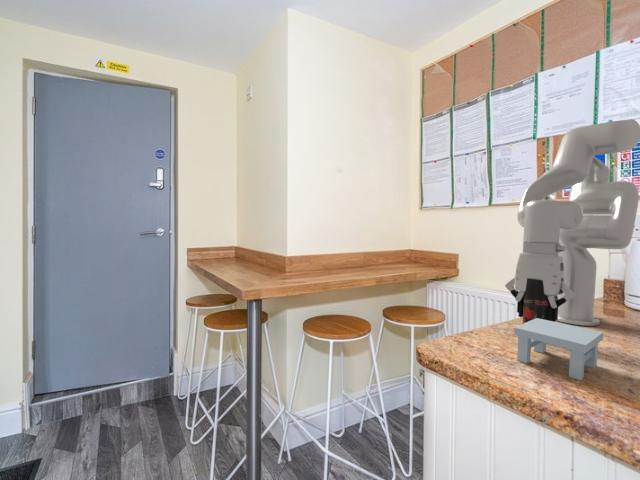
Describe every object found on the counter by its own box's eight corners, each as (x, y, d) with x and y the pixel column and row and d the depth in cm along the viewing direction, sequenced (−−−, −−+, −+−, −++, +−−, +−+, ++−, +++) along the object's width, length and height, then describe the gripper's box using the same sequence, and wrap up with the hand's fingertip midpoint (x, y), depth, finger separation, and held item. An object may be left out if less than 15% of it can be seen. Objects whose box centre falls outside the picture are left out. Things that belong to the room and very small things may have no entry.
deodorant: (553, 341, 81) (557, 281, 80) (527, 339, 82) (530, 279, 81) (542, 333, 87) (546, 277, 86) (518, 331, 88) (521, 275, 87)
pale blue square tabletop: (534, 347, 77) (536, 318, 76) (601, 365, 67) (603, 332, 67) (512, 360, 69) (514, 327, 69) (583, 382, 60) (586, 345, 60)
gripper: (587, 251, 79) (582, 325, 80) (510, 246, 92) (507, 309, 93) (577, 252, 74) (572, 331, 75) (498, 247, 88) (494, 313, 89)
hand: (536, 318), depth 84 cm, fingers closed on deodorant, 5 cm apart
